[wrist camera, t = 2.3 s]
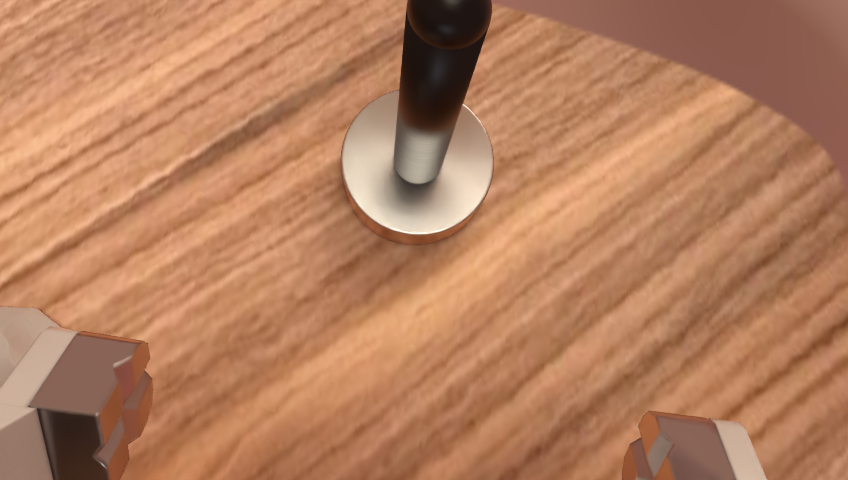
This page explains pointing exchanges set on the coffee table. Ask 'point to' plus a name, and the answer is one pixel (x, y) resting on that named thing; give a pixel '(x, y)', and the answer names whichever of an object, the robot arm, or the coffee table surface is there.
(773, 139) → the coffee table surface
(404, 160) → the meat pounder
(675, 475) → the robot arm
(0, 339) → the figurine
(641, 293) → the coffee table surface
